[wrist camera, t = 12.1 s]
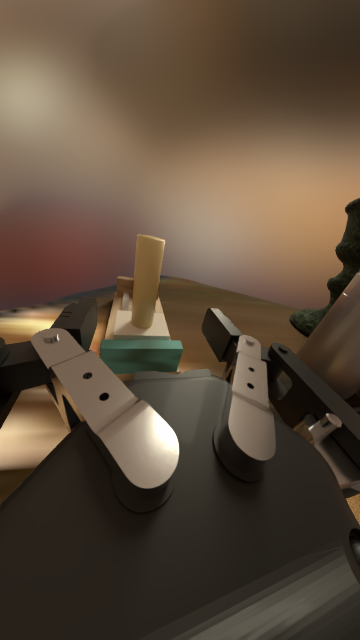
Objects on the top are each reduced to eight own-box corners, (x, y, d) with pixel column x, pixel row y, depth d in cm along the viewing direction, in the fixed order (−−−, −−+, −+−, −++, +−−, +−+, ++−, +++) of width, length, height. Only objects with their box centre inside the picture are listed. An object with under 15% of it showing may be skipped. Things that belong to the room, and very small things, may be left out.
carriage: (161, 323, 28) (176, 240, 21) (167, 347, 23) (189, 248, 16) (117, 321, 26) (119, 228, 19) (113, 347, 21) (114, 234, 14)
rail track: (157, 302, 41) (161, 281, 38) (177, 379, 22) (187, 348, 20) (115, 298, 38) (115, 275, 35) (96, 383, 19) (94, 348, 17)
